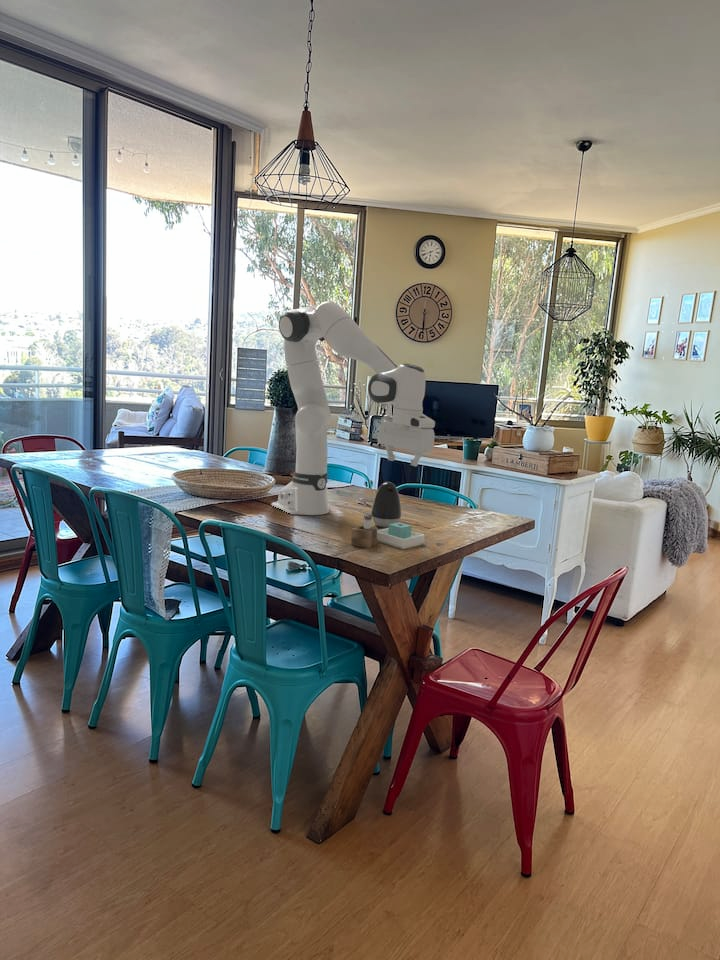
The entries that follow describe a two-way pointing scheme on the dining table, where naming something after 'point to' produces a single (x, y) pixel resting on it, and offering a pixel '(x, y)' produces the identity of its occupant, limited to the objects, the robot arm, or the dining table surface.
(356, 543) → the walnut block
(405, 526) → the teal block
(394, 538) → the tray
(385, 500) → the dark grey egg shape
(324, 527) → the dining table surface
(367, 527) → the pin gauge
